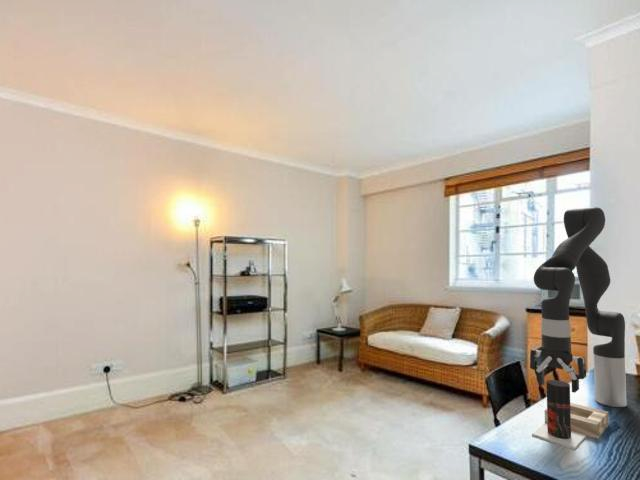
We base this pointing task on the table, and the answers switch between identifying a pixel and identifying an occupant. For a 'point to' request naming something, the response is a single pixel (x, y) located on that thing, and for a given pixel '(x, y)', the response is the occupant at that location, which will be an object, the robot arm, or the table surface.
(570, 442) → the mat
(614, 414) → the table surface
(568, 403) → the deodorant
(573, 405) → the holder
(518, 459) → the table surface
